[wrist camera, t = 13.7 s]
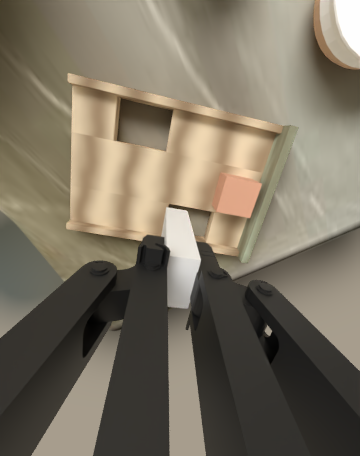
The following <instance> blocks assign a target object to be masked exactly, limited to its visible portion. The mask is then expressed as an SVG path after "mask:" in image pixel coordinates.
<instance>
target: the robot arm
mask: <svg viewBox="0 0 360 456" xmlns="http://www.w3.org/2000/svg"><path fill="white" fill-rule="evenodd" d="M190 301H191V311H190V314H189V318H188V321H187V325H186V330H188V328H189V325H190V327H191V336H192V344H193V352H194V361H195V368H196V376H197V385H198V393H199V401H200V408H201V418H202V425H203V433H204V442H205V450H206V456H360V371H359V370H358V369H357V368H356V367H355V366H354V365H353V364H352V363H350V361H349V360H348V359H347V358H346V357H345V356H344V355H343V354H342V353H341V352H340V351H339V350H337V348H336V347H335V346H334V345H333V344H331V342H329V340H328V339H327V338H325V336H323V335H322V334H321V333H320V332H319V331H318V330H317V329H316V328H315V327H314V326H313V325H312V324H311V323H310V322H309V321H308V320H307V319H306V318H305V317H304V316H303V315H302V314H301V313H300V312H299V311H298V310H297V309H296V308H295V307H294V306H293V305H292V304H291V303H290V302H289V301H288V300H287V299H286V298H285V297H284V296H283V295H282V294H281V293H280V292H279V291H278V290H277V289H276V288H275V287H273V286H272V285H270V284H268V283H267V282H265V281H261V280H252V281H250V282H249V284H248V287H246V286H243V285H240V284H237V283H235V282H233V281H232V279H231V276H230V275H229V274H228V272H226V271H225V270H224V269H222V268H220V267H219V264H218V262H217V259H216V257H215V254H214V252H213V250H212V247H211V246H210V245H209V244H207V243H205V242H198V241H196V240H195V237H194V233H193V229H192V226H191V222H190V219H189V215H188V211H186V210H180V209H174V208H168V207H166V212H165V218H164V223H163V229H162V234H161V236H154V235H146V236H145V237H143V240H142V244H140V245H139V247H138V254H137V261H136V265H135V266H133V267H132V268H129V269H125V270H117V268H116V266H115V265H114V264H112V263H110V262H107V261H93V262H89V263H87V264H85V265H84V266H82V267H81V268H80V269H79V270H78V271H77V272H76V273H74V274H73V275H72V276H71V277H70V278H69V279H68V280H66V281H65V282H64V283H63V284H62V285H61V286H60V287H58V288H57V289H56V290H55V291H54V292H53V293H52V294H50V295H49V296H48V297H47V298H46V299H45V300H44V301H42V302H41V303H40V304H39V305H38V306H37V307H36V308H34V309H33V310H32V311H31V312H30V313H29V314H28V315H27V316H25V317H24V318H23V319H22V320H21V321H20V322H18V323H17V324H16V325H15V326H14V327H13V328H12V329H11V330H9V331H8V332H7V333H6V334H5V335H4V336H2V337H1V338H0V456H31V455H32V453H33V452H34V450H35V448H36V447H37V445H38V443H39V441H40V440H41V438H42V437H43V435H44V434H45V432H46V430H47V429H48V427H49V425H50V424H51V422H52V420H53V419H54V417H55V416H56V414H57V412H58V411H59V409H60V407H61V406H62V404H63V403H64V401H65V399H66V398H67V396H68V394H69V393H70V391H71V389H72V388H73V386H74V384H75V383H76V381H77V380H78V378H79V376H80V374H81V373H82V371H83V370H84V368H85V366H86V365H87V363H88V362H89V360H90V358H91V357H92V355H93V353H94V352H95V350H96V349H97V347H98V345H99V343H100V342H101V340H102V339H103V337H104V335H105V334H106V332H107V331H108V329H109V327H110V326H111V323H112V321H117V320H122V319H124V320H123V325H122V329H121V333H120V338H119V343H118V347H117V351H116V356H115V360H114V365H113V369H112V374H111V378H110V382H109V387H108V391H107V396H106V400H105V405H104V410H103V414H102V418H101V423H100V427H99V432H98V436H97V440H96V445H95V450H94V455H93V456H169V384H168V383H169V381H168V307H176V308H186V309H188V307H189V303H190ZM267 325H268V326H269V327H270V328H271V330H272V333H271V335H270V336H268V335H267V334H266V333H265V329H266V327H267Z"/></svg>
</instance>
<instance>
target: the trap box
mask: <svg viewBox="0 0 360 456" xmlns="http://www.w3.org/2000/svg"><path fill="white" fill-rule="evenodd" d="M68 82H69V83H70V84H72V139H71V196H70V220H69V221H68V222H67V223H66V229H71V230H77V231H83V232H89V233H95V234H102V235H108V236H114V237H120V238H126V239H132V240H139V241H142V240H143V237H145V236H146V235H154V236H161V234H162V229H163V223H164V218H165V212H166V207H169V204H173V205H179V206H184V207H190V208H195V209H200V210H206V211H211V213H210V217H209V221H208V224H207V228H206V232H205V235H204V237H201V236H195V235H194V237H195V240H196V241H198V242H205V243H207V244H209V245H210V246H211V247H212V250H213V252H214V253H219V254H225V255H231V256H238V258H239V259H240V261H241V262H242V263H248V261H249V259H250V256H251V253H252V251H253V248H254V245H255V243H256V240H257V237H258V235H259V232H260V229H261V227H262V224H263V221H264V219H265V216H266V213H267V211H268V208H269V205H270V203H271V200H272V197H273V195H274V192H275V189H276V187H277V184H278V181H279V178H280V176H281V173H282V170H283V168H284V165H285V162H286V160H287V157H288V154H289V152H290V149H291V146H292V144H293V141H294V138H295V136H296V133H297V130H298V128H299V127H295V126H291V125H289V126H281V125H277V124H273V123H269V122H265V121H261V120H257V119H253V118H249V117H245V116H241V115H237V114H233V113H228V112H224V111H220V110H216V109H212V108H208V107H204V106H200V105H196V104H192V103H188V102H184V101H180V100H176V99H172V98H168V97H163V96H159V95H155V94H151V93H147V92H143V91H139V90H135V89H131V88H127V87H123V86H119V85H115V84H111V83H107V82H103V81H98V80H94V79H90V78H86V77H82V76H78V75H74V74H70V73H68ZM121 98H122V99H126V100H130V101H134V102H138V103H142V104H147V105H151V106H155V107H159V108H163V109H167V110H172V111H173V115H172V120H171V126H170V132H169V138H168V144H167V149H166V151H163V150H158V149H154V148H149V147H145V146H140V145H135V144H131V143H126V142H121V141H117V135H118V124H119V113H120V102H121ZM221 172H222V173H226V174H231V175H236V176H241V177H245V178H250V179H253V180H255V181H257V182H259V183H261V184H262V186H261V189H260V191H259V194H258V197H257V200H256V203H255V206H254V208H253V211H252V214H251V217H250V218H246V217H241V216H235V215H230V214H225V213H220V212H216V210H215V209H214V207H213V206H212V202H213V198H214V194H215V191H216V187H217V183H218V180H219V176H220V173H221Z"/></svg>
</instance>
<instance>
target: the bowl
mask: <svg viewBox="0 0 360 456" xmlns="http://www.w3.org/2000/svg"><path fill="white" fill-rule="evenodd" d="M313 20H314V31H315V36H316V39H317V42H318V45H319V47H320V49H321V50H322V52H323V53H324V55H325V56H326V57H327V58H329V59H330V60H331V61H332V62H334V63H335V64H337V65H339V66H341V67H343V68H348V69H353V70H355V69H360V0H315V5H314V12H313Z"/></svg>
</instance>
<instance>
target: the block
mask: <svg viewBox="0 0 360 456" xmlns="http://www.w3.org/2000/svg"><path fill="white" fill-rule="evenodd" d="M261 186H262V184H261V183H259V182H257V181H255V180H253V179H250V178H245V177H241V176H236V175H231V174H226V173H222V172H221V173H220V176H219V180H218V183H217V187H216V191H215V194H214V198H213V202H212V206H213V207H214V209H215V210H216V212H220V213H225V214H230V215H235V216H241V217H246V218H250V217H251V214H252V211H253V208H254V206H255V203H256V200H257V197H258V194H259V191H260V189H261Z"/></svg>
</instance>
